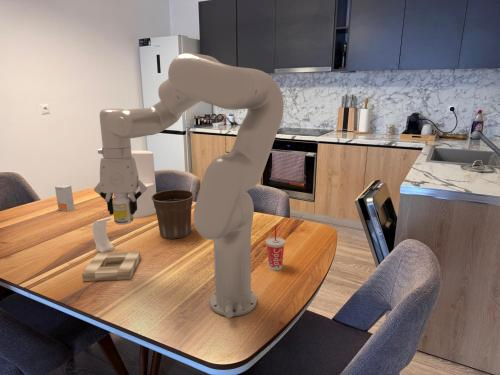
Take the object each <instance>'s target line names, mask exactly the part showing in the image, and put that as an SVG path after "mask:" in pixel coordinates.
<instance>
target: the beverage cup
mask: <svg viewBox="0 0 500 375" xmlns="http://www.w3.org/2000/svg"><path fill="white" fill-rule="evenodd" d="M265 244H266V256H267V267H268V269H269V270H272V271H279V270H282V268H283V261H284V251H285V244H286V240H285V239H284V238H282V237H277V226H276V225H274V237H269V238H267V239H266V240H265Z"/></svg>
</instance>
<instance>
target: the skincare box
mask: <svg viewBox="0 0 500 375" xmlns="http://www.w3.org/2000/svg"><path fill="white" fill-rule="evenodd" d="M54 189H55V196H56V201H57V209H58V211H63V212H70V211H73V210H75V202H74V196H73V195H74V194H73V190H72V189H73V188H72V185H68V184H59V185H56V186H54Z"/></svg>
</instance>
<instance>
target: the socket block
mask: <svg viewBox="0 0 500 375" xmlns="http://www.w3.org/2000/svg"><path fill="white" fill-rule="evenodd" d="M141 259H142V258H141V251H140V250H139V251H117V252H104V253H101V252H97V254H96V255H95V256H94V257H93V258H92V260H91V261H90V263H89V264H88V265H87V266H86V268H85V269H84V270H83V271H82V272H81V277H82V282H94V281H95V282H96V281H116V280H117V281H119V280H131V279H132V277H133V275H134V273H135V270H136V268H137V266H138V265H139V262H140V260H141Z"/></svg>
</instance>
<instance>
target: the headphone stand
mask: <svg viewBox="0 0 500 375" xmlns="http://www.w3.org/2000/svg"><path fill="white" fill-rule="evenodd" d="M111 220H112V217H104V218H101V219H98V220H95V221H93V223H92V228H91V230H92V237H93V240H94V243H95V245H96V246H95V249H96V250H97V251H98V252H99V253H108V252H109V251H112V250H115V246H114V245H113V244H112V243H111V241H110V240H109V237H108V234H107V222H109V221H111Z"/></svg>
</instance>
